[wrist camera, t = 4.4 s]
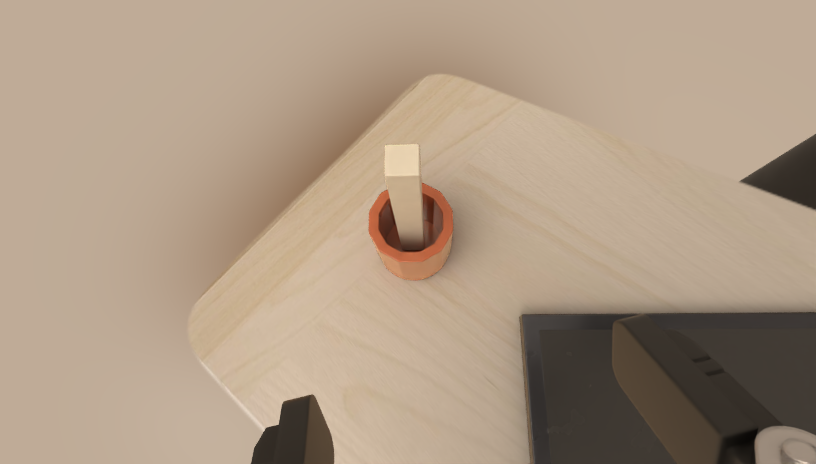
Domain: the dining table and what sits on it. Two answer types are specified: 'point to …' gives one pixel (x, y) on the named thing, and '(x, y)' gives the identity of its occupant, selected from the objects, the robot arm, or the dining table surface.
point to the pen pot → (435, 236)
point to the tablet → (612, 409)
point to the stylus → (405, 192)
